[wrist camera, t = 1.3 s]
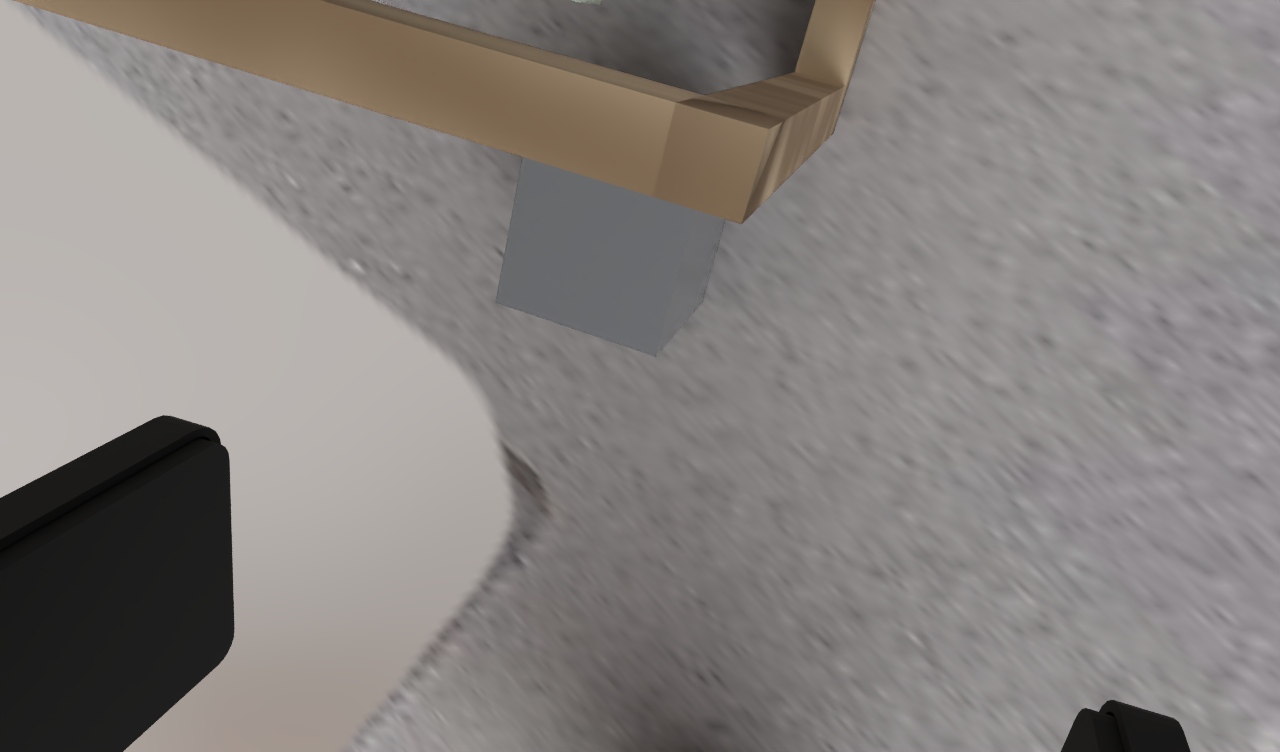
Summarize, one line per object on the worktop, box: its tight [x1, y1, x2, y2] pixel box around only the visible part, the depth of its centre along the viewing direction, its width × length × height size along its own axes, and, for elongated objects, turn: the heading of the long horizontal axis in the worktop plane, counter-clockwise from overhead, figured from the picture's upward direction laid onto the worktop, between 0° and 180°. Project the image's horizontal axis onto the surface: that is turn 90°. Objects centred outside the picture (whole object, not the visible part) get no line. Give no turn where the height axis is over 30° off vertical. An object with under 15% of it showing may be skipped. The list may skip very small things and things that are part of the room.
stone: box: [496, 157, 725, 356], centre depth 28 cm, size 5×5×6 cm
